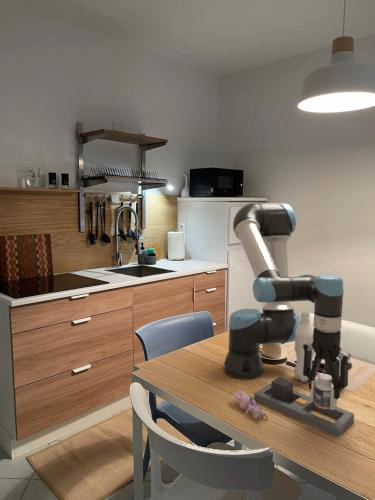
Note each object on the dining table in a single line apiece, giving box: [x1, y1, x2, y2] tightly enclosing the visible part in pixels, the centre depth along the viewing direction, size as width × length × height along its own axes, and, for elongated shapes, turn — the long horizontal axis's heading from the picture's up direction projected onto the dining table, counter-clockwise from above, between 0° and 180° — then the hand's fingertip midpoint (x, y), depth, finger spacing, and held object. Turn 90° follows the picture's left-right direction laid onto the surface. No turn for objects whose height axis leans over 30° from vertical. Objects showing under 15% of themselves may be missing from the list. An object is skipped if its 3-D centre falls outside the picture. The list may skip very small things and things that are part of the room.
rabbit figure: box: [232, 390, 269, 423], centre depth 119 cm, size 6×6×15 cm
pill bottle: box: [314, 373, 333, 409], centre depth 113 cm, size 5×5×9 cm
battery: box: [323, 355, 341, 384], centre depth 135 cm, size 7×4×11 cm, turn 20°
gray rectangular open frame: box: [253, 376, 355, 438], centre depth 119 cm, size 28×11×7 cm, turn 45°
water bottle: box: [293, 311, 316, 383], centre depth 139 cm, size 7×7×25 cm
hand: (323, 403), depth 114 cm, fingers closed on pill bottle, 5 cm apart
